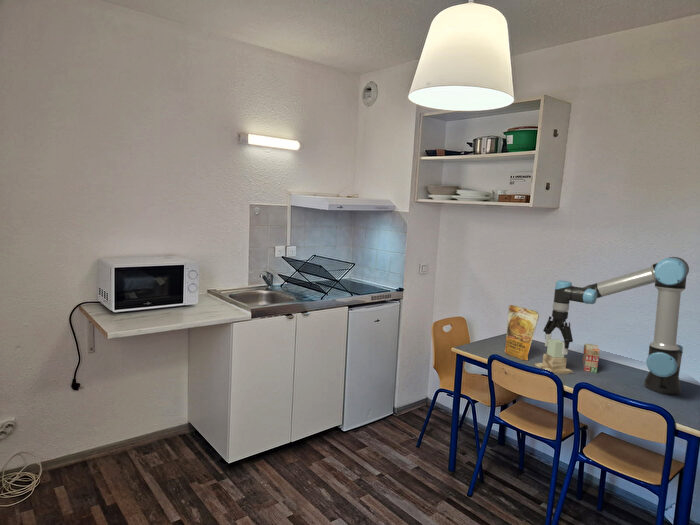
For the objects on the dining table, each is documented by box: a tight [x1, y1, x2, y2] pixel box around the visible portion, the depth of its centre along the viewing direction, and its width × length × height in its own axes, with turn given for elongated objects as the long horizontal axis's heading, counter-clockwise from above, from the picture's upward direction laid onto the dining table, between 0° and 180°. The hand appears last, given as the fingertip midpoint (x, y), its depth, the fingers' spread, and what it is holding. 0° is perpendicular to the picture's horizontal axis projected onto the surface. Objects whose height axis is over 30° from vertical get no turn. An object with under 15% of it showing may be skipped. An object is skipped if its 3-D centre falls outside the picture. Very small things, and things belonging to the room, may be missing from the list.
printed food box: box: [582, 343, 601, 374], centre depth 260 cm, size 21×6×12 cm, turn 156°
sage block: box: [546, 338, 565, 358], centre depth 251 cm, size 6×6×8 cm
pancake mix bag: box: [504, 304, 540, 361], centre depth 270 cm, size 7×19×28 cm, turn 31°
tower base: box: [534, 353, 574, 375], centre depth 251 cm, size 14×13×7 cm
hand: (555, 350), depth 251 cm, fingers open, 13 cm apart
